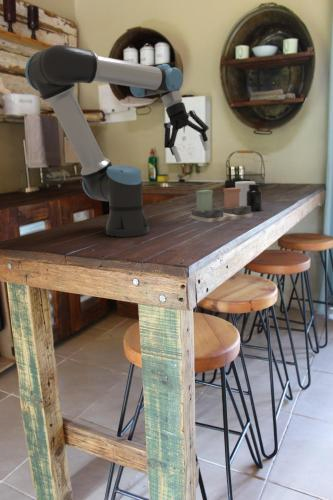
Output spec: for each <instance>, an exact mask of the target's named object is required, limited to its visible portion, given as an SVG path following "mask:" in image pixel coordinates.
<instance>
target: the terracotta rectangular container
mask: <svg viewBox="0 0 333 500" xmlns="http://www.w3.org/2000/svg"><path fill="white" fill-rule="evenodd" d="M222 189H223V194H224V198H223V199H224V201H223V202H224V203H223V204H224V206H223V208H229V209H233V207H239V200H240V192H241V188H235V187H228V188H227V187H226V188H222Z"/></svg>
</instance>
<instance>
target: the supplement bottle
mask: <svg viewBox="0 0 333 500" xmlns="http://www.w3.org/2000/svg"><path fill="white" fill-rule="evenodd" d="M260 188H261V187H260V183H255V184H249V190H248V191H247V206H251V212H261V211H262V210H263V204H262V201H263V199H262V197H263V193H262V190H260Z"/></svg>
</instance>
